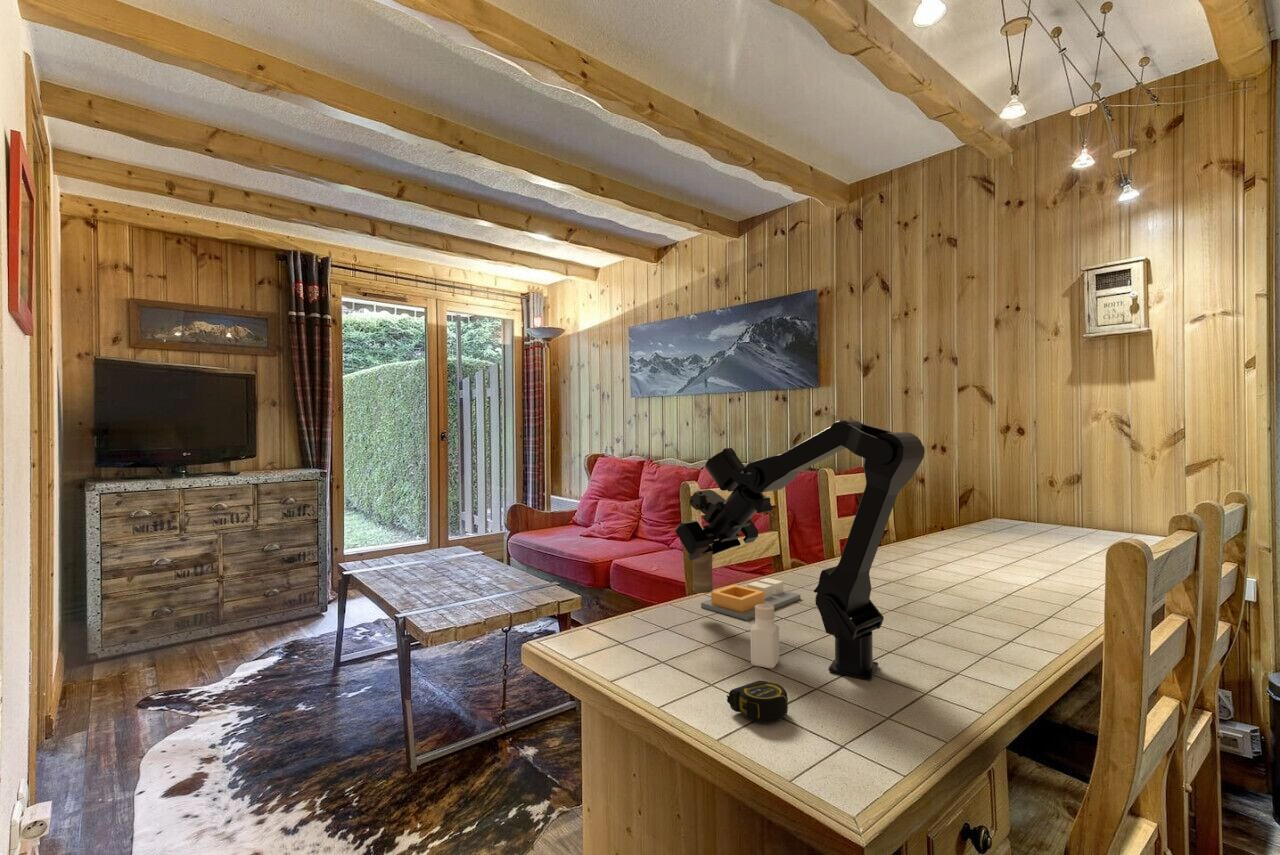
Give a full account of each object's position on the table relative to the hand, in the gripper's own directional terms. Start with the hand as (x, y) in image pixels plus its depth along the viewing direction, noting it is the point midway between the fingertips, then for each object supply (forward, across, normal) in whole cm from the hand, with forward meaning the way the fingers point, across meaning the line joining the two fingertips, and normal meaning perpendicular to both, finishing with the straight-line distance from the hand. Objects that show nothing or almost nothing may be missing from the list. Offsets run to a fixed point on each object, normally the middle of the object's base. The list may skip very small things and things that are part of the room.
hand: (697, 556), depth 123 cm
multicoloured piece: (+7, -14, +10) cm, 19 cm away
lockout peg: (+4, 0, +6) cm, 7 cm away
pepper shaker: (-9, +9, +26) cm, 29 cm away
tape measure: (-16, +23, +33) cm, 43 cm away
